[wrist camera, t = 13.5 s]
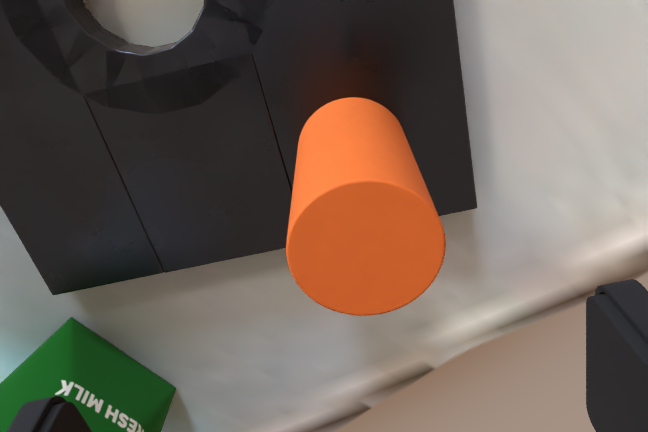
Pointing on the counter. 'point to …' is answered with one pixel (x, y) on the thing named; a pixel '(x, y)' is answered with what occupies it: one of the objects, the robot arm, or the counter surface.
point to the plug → (361, 212)
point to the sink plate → (205, 125)
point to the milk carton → (89, 383)
